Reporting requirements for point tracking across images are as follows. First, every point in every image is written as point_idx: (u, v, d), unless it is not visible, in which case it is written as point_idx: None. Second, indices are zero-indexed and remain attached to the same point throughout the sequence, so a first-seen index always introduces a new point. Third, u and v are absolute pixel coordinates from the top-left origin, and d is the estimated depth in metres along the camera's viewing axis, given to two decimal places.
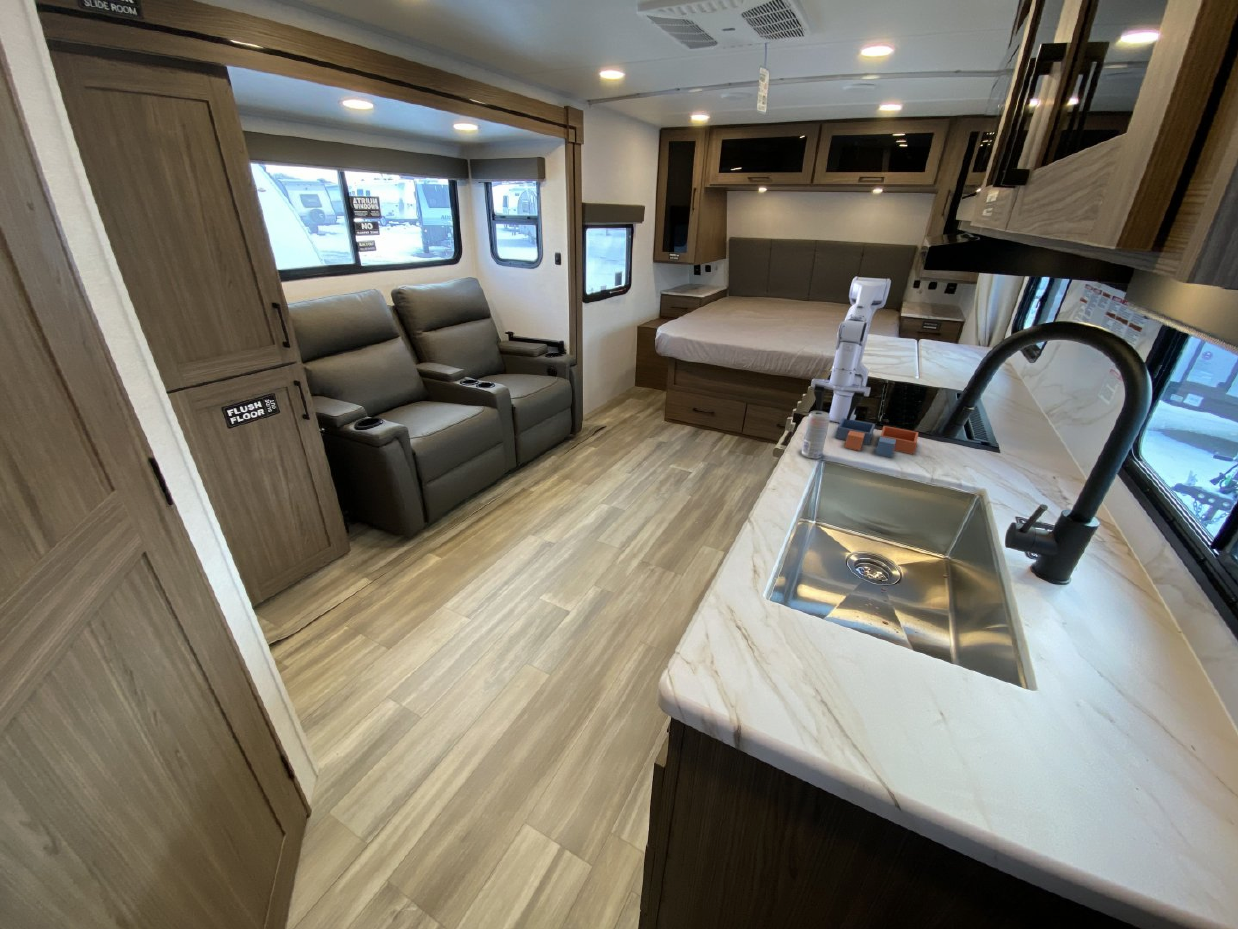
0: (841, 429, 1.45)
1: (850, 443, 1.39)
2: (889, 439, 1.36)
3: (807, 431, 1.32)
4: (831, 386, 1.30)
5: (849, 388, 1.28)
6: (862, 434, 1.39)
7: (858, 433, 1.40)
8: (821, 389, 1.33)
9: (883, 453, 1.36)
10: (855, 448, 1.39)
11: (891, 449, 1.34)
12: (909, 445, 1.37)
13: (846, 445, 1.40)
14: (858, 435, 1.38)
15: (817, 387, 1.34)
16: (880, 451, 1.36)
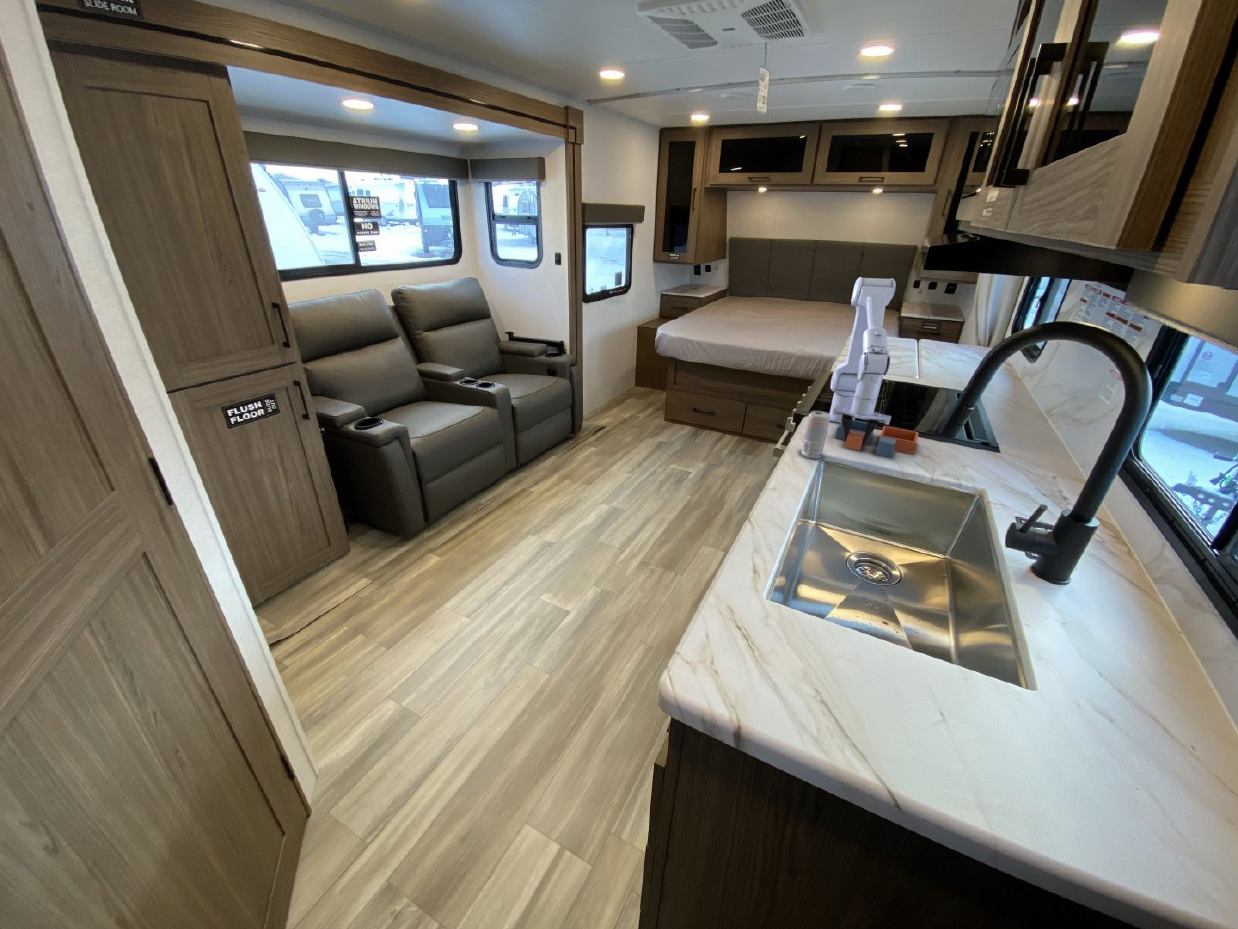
0: (841, 429, 1.45)
1: (850, 443, 1.39)
2: (889, 439, 1.36)
3: (807, 431, 1.32)
4: (853, 414, 1.36)
5: (870, 417, 1.34)
6: (862, 434, 1.39)
7: (858, 433, 1.40)
8: (849, 418, 1.38)
9: (883, 453, 1.36)
10: (855, 448, 1.39)
11: (891, 449, 1.34)
12: (909, 445, 1.37)
13: (846, 445, 1.40)
14: (858, 435, 1.38)
15: (845, 416, 1.38)
16: (880, 451, 1.36)
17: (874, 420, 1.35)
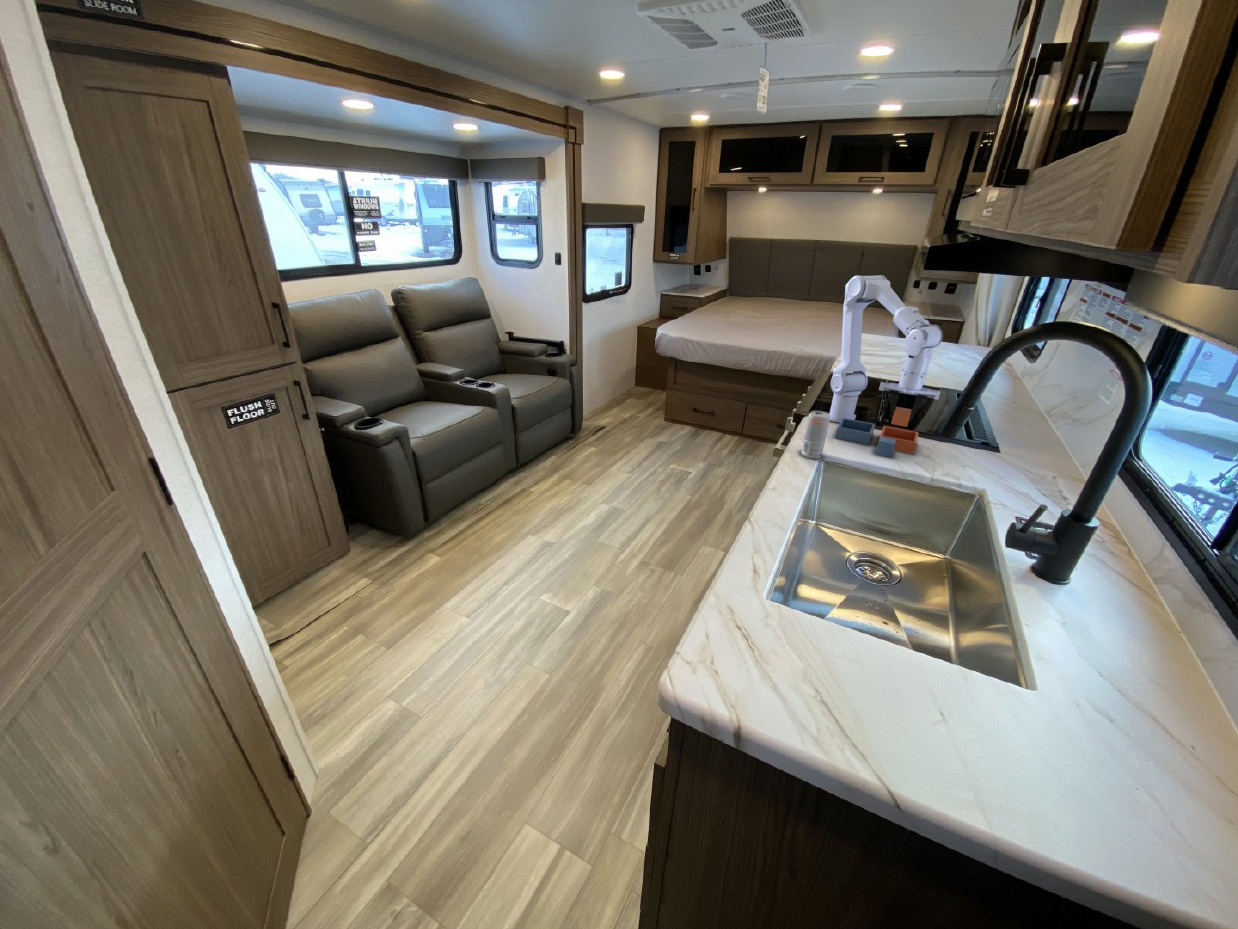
0: (841, 429, 1.45)
1: (897, 419, 1.38)
2: (889, 439, 1.36)
3: (807, 431, 1.32)
4: (901, 389, 1.34)
5: (919, 391, 1.32)
6: (909, 410, 1.38)
7: (905, 409, 1.38)
8: (896, 393, 1.37)
9: (883, 453, 1.36)
10: (902, 424, 1.38)
11: (891, 449, 1.34)
12: (909, 445, 1.37)
13: (893, 421, 1.39)
14: (905, 411, 1.37)
15: (892, 391, 1.37)
16: (880, 451, 1.36)
17: (923, 395, 1.34)
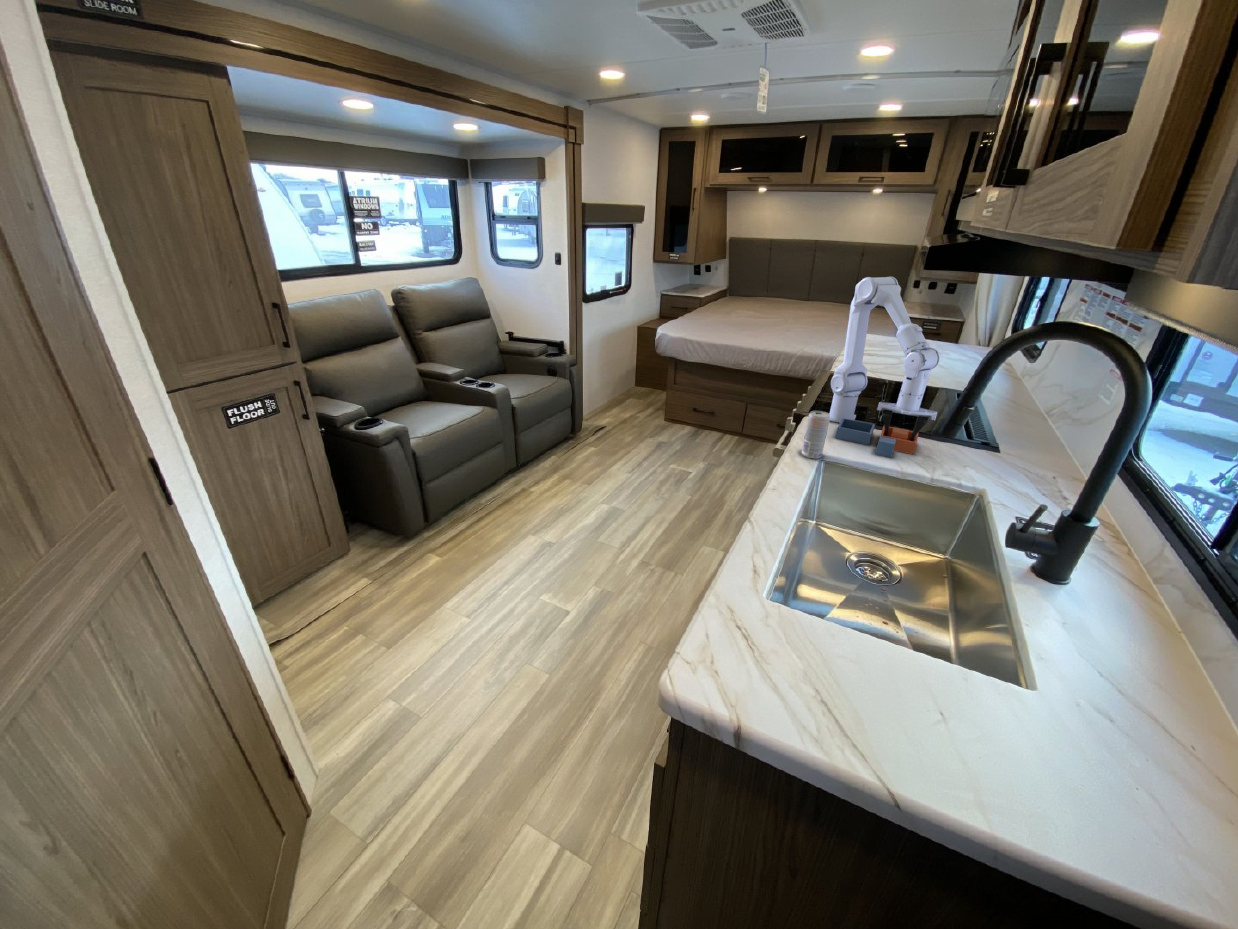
0: (841, 429, 1.45)
1: None
2: (889, 439, 1.36)
3: (807, 431, 1.32)
4: (899, 410, 1.37)
5: (917, 412, 1.35)
6: (906, 431, 1.41)
7: (902, 430, 1.41)
8: (889, 413, 1.40)
9: (883, 453, 1.36)
10: None
11: (891, 449, 1.34)
12: (909, 445, 1.37)
13: None
14: (902, 432, 1.40)
15: (885, 411, 1.40)
16: (880, 451, 1.36)
17: (924, 416, 1.36)
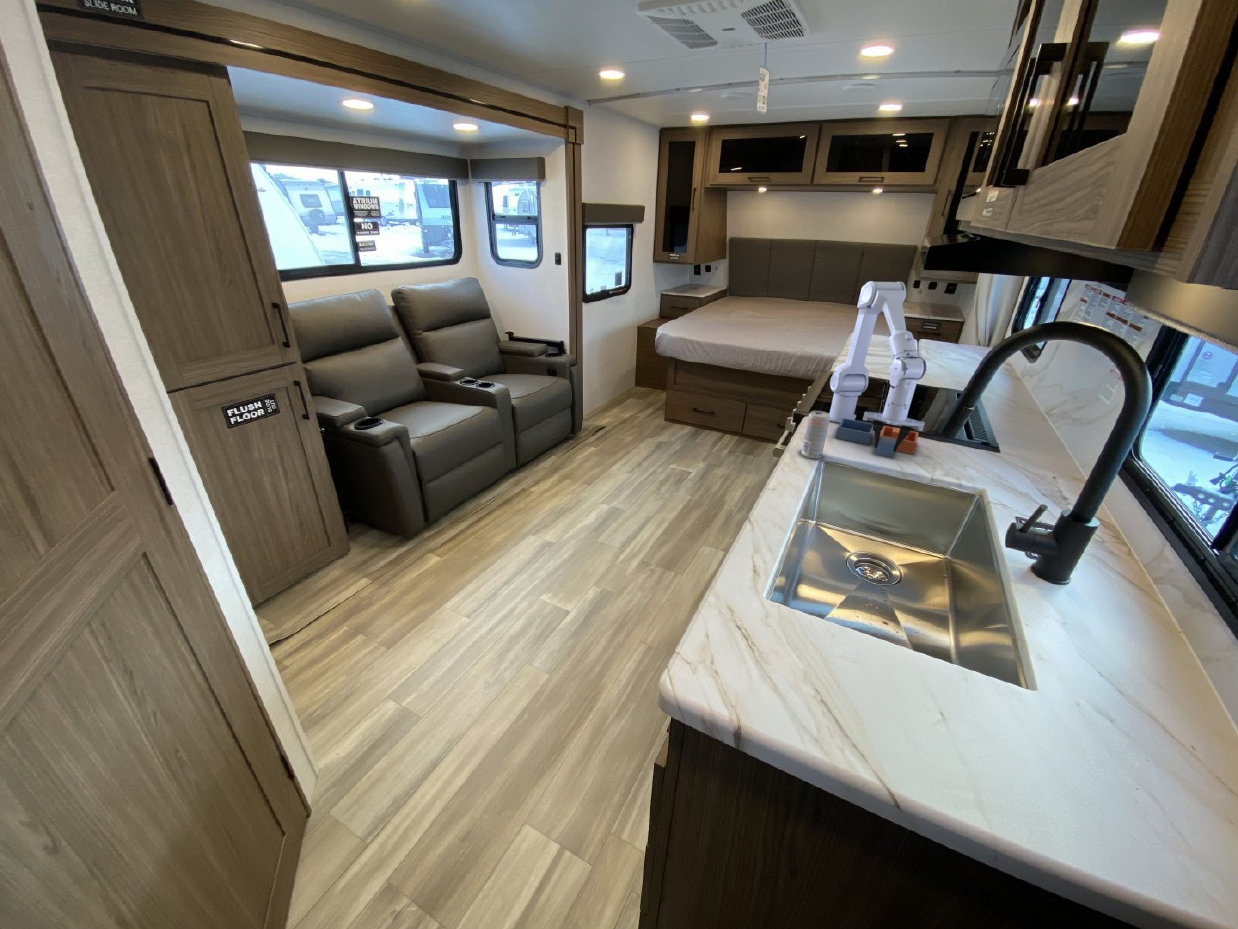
0: (841, 429, 1.45)
1: None
2: (889, 439, 1.36)
3: (807, 431, 1.32)
4: (885, 420, 1.32)
5: (903, 423, 1.30)
6: None
7: None
8: (880, 424, 1.34)
9: (883, 453, 1.36)
10: None
11: (891, 449, 1.34)
12: (909, 445, 1.37)
13: None
14: None
15: (876, 422, 1.35)
16: (880, 451, 1.36)
17: (907, 426, 1.31)
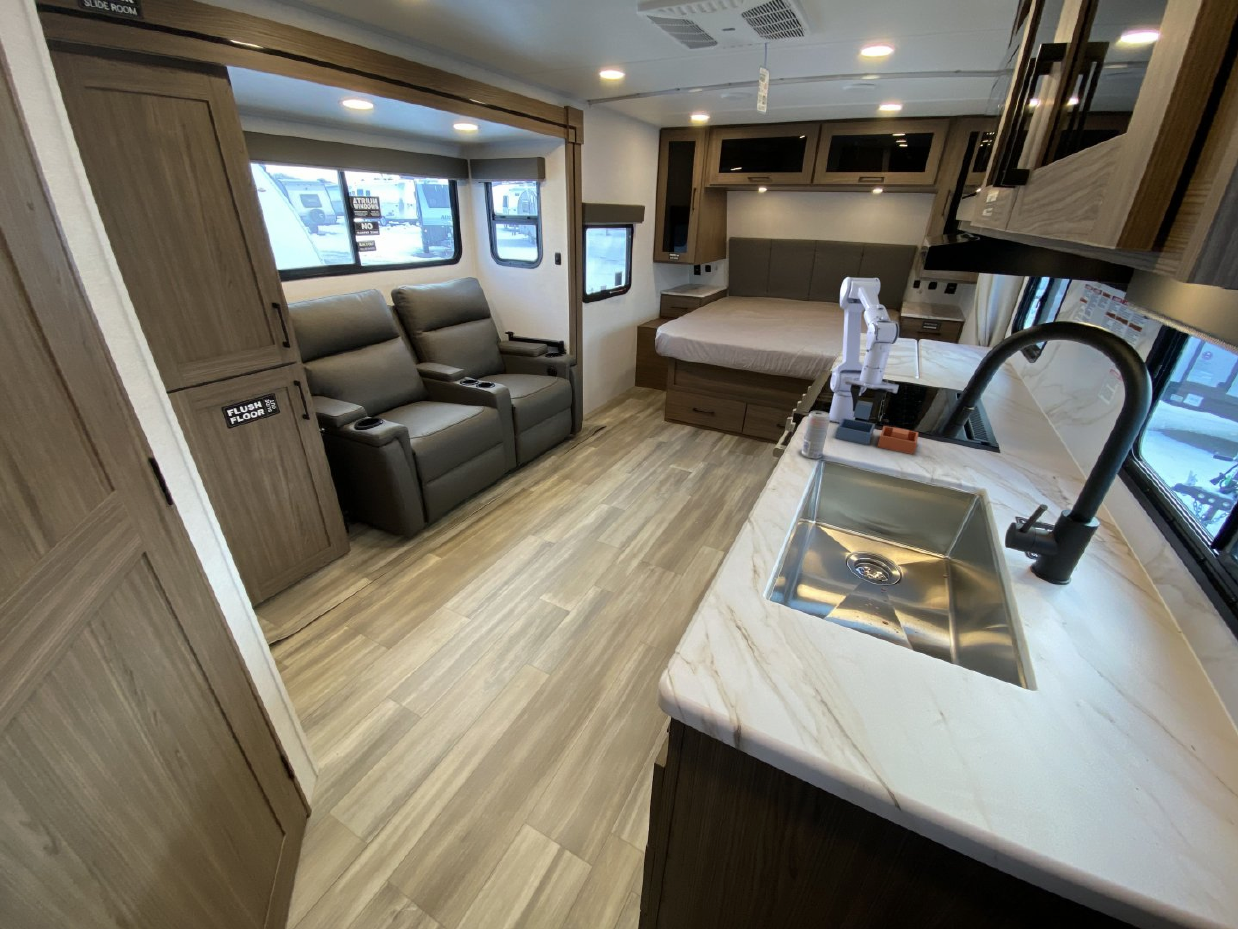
0: (841, 429, 1.45)
1: None
2: (866, 402, 1.43)
3: (807, 431, 1.32)
4: (861, 384, 1.39)
5: (879, 385, 1.37)
6: (906, 431, 1.41)
7: (902, 430, 1.41)
8: (857, 387, 1.41)
9: (860, 416, 1.43)
10: None
11: (868, 411, 1.41)
12: (909, 445, 1.37)
13: None
14: (902, 432, 1.40)
15: (853, 385, 1.42)
16: (857, 414, 1.43)
17: (882, 389, 1.38)
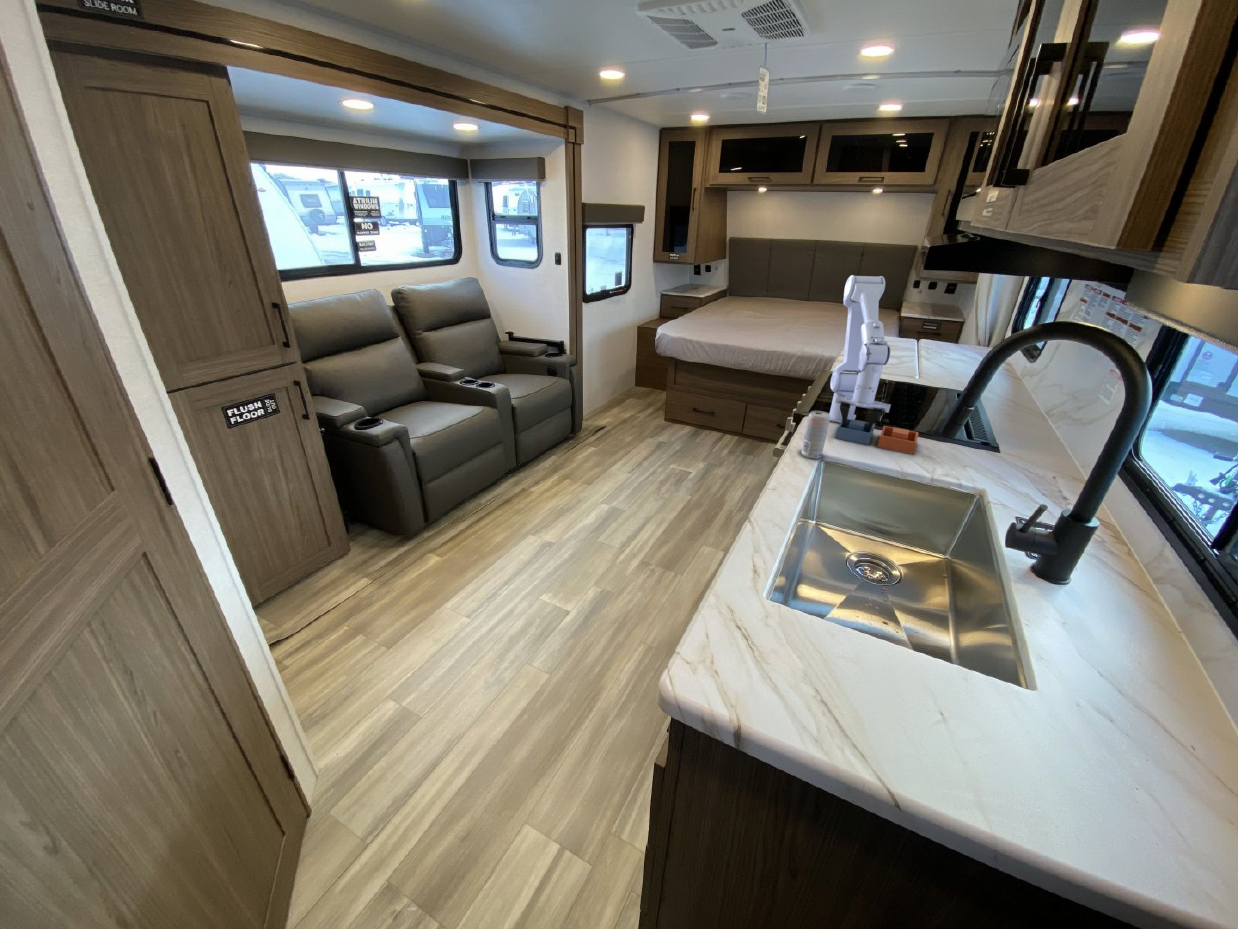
0: (841, 429, 1.45)
1: None
2: (859, 421, 1.47)
3: (807, 431, 1.32)
4: (854, 403, 1.42)
5: (871, 405, 1.40)
6: (906, 431, 1.41)
7: (902, 430, 1.41)
8: (846, 406, 1.45)
9: None
10: None
11: (860, 430, 1.45)
12: (909, 445, 1.37)
13: None
14: (902, 432, 1.40)
15: (843, 404, 1.46)
16: None
17: (878, 409, 1.41)
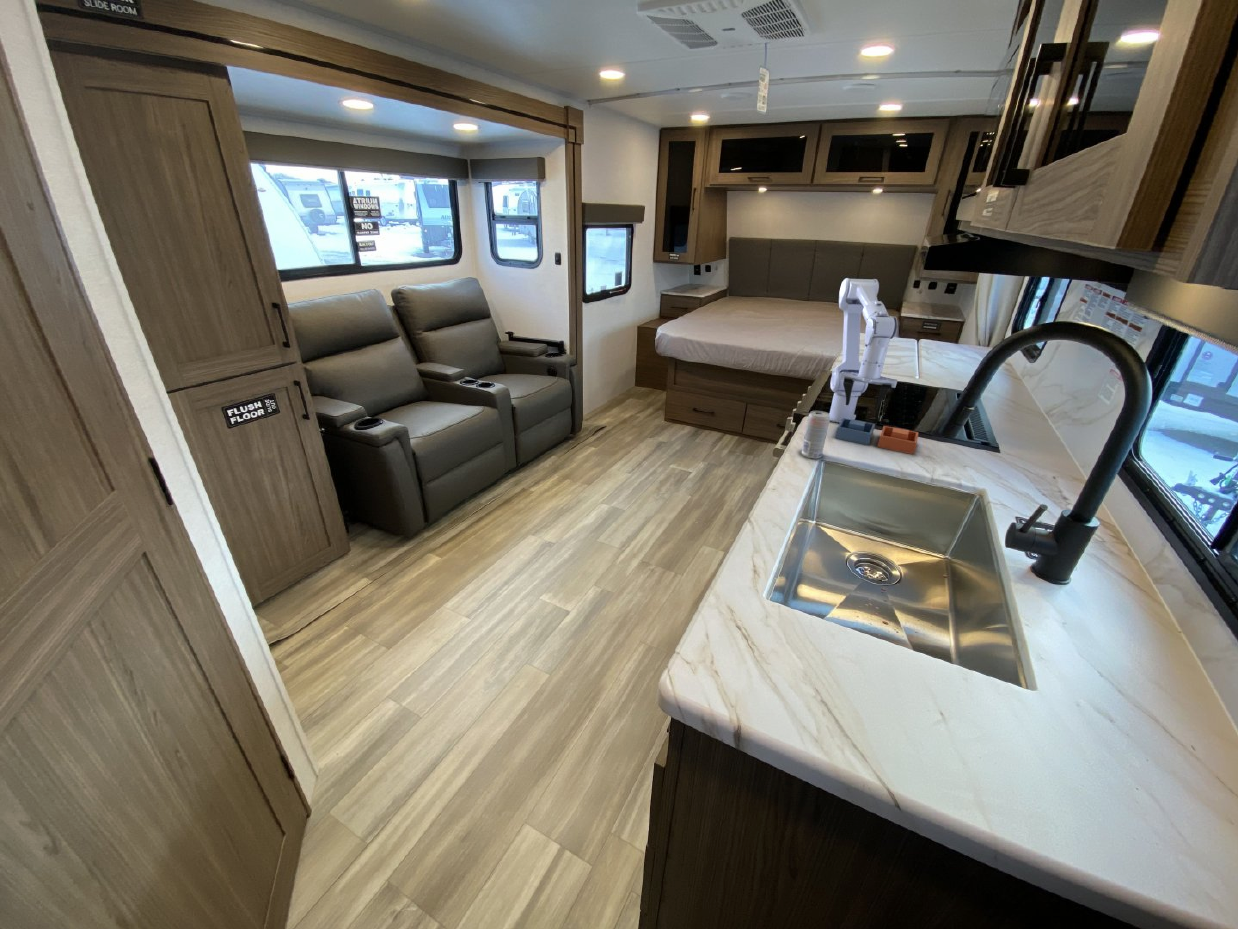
0: (841, 429, 1.45)
1: None
2: (859, 421, 1.47)
3: (807, 431, 1.32)
4: (860, 378, 1.39)
5: (877, 380, 1.37)
6: (906, 431, 1.41)
7: (902, 430, 1.41)
8: (850, 381, 1.42)
9: None
10: None
11: (860, 430, 1.45)
12: (909, 445, 1.37)
13: None
14: (902, 432, 1.40)
15: (846, 379, 1.43)
16: None
17: (887, 385, 1.38)
